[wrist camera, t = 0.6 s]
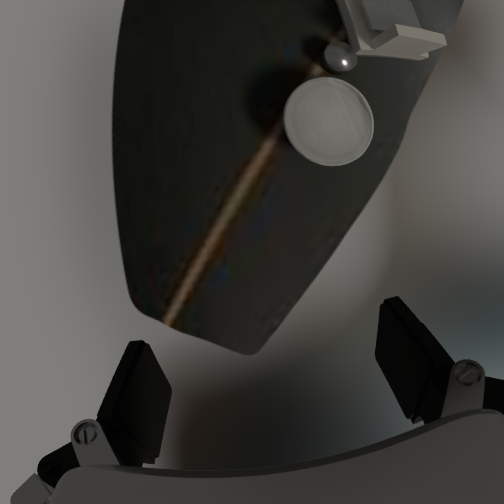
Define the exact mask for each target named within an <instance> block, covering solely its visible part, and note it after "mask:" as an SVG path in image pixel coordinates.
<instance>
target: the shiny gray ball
mask: <svg viewBox="0 0 504 504" xmlns="http://www.w3.org/2000/svg"><path fill="white" fill-rule="evenodd" d="M320 64H321V66H322V67H323V68H324V69H325V70H326V71H327V72H328V73H330V74H333V75H342V74H345V73H346V72H348V71H349V70H351V69H353V68H354V67H355V66H356V64H357V54H356V52H355V51H354V49H353V48H352V47H351V46H350V45H348V44H346V43H344V42H340V41H336V42H332V43H330V44H329V45H328V46H327V47H326V48H325V49H324V50H323V51H322V52H321V54H320Z"/></svg>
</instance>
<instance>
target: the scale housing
mask: <svg viewBox="0 0 504 504" xmlns="http://www.w3.org/2000/svg"><path fill="white" fill-rule="evenodd" d="M335 2H336V4H337V7H338V10H339V13H340V16H341V19H342V22H343V25H344V28H345V32H346V35H347V38H348V42H349V45H350V46H351V47H352V48H353V49H354V51H355V52H356V54H357V56H372V57H386V58H396V59H405V60H413V61H421V60H422V59H425V58H428V57H429V56H428V52H429V51H432V50H435V49H438V48H441V47H444V46H447V43H446V40H445V37H444V35H443V34H439V33H436V32H432V31H428V30H424V29H421V28H417V27H409V26H404V25H399V24H394V25H393V26H391V27H390V28H388V29H387V30H385V31H384V32H375V31H370V29H369V25H368V22H367V20H366V17H365V14H364V11H363V8H362V6H361V3H360V0H335Z"/></svg>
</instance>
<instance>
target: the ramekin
mask: <svg viewBox="0 0 504 504" xmlns="http://www.w3.org/2000/svg"><path fill="white" fill-rule="evenodd" d="M283 124H284V129H285V132H286V135H287V137H288V139H289V141H290V143H291V144H292V146H293V147H294V148H295V149H296V150H297V151H298V152H299V153H300V154H301V155H302V156H304V157H305V158H307V159H308V160H310V161H312V162H314V163H317V164H321V165H326V166H340V165H344V164H347V163H350V162H352V161H354V160H356V159H357V158H359V157H360V156H361V155H362V154H363V153H364V152H365V151H366V149H367V148H368V146H369V144H370V142H371V139H372V136H373V130H374V121H373V115H372V112H371V109H370V106H369V104H368V102H367V101H366V99H365V98H364V96H363V95H362V94H361V93H360V92H359V91H358V90H357V89H356V88H355V87H353V86H352V85H351V84H349V83H347V82H345V81H343V80H340V79H337V78H332V77H318V78H314V79H310V80H308V81H306V82H304V83H302V84H301V85H299V86H298V87H297V88H296V89H295V90H294V91H293V92H292V93H291V95H290V96H289V98H288V99H287V102H286V104H285V107H284V112H283Z"/></svg>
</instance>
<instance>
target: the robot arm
mask: <svg viewBox="0 0 504 504" xmlns="http://www.w3.org/2000/svg"><path fill="white" fill-rule="evenodd" d="M375 357H376V360H377V362H378V364H379V366H380V368H381V370H382V372H383V374H384V375H385V377H386V379H387V381H388V383H389V385H390V387H391V389H392V391H393V393H394V395H395V397H396V398H397V401H398V403H399V405H400V407H401V409H402V411H403V413H404V415H405V417H406V418H407V419H411V421H412V423H413V424H415V423H418V422H420V421H422V420H423V421H424V424H425V425H423V426H420V427H418V428H416V429H413V430H410V431H408V432H405V433H402V434H400V435H397V436H395V437H392V438H389V439H386V440H383V441H380V442H377V443H374V444H371V445H368V446H365V447H361V448H358V449H354V450H350V451H347V452H343V453H339V454H335V455H331V456H327V457H323V458H318V459H313V460H308V461H302V462H297V463H290V464H284V465H277V466H269V467H260V468H250V469H237V470H236V469H235V470H171V469H155V468H144V467H142V465H143V463H148V464H154V463H155V458H157V457H159V453H160V448H161V443H162V438H163V433H164V428H165V423H166V418H167V414H168V409H169V404H170V399H171V395H172V389H171V386H170V384H169V382H168V380H167V378H166V376H165V375H164V373H163V371H162V369H161V367H160V365H159V363H158V361H157V359H156V357H155V355H154V353H153V351H152V349H151V347H150V345H149V344H147V343H145V342H144V341H143V340H138V341H130V342H129V343H128V345H127V347H126V350H125V352H124V354H123V356H122V358H121V360H120V363H119V365H118V367H117V369H116V371H115V374H114V376H113V378H112V380H111V383H110V386H109V387H108V390H107V392H106V394H105V397H104V399H103V402H102V404H101V406H100V409H99V411H98V414H97V416H98V417H97V419H96V421H95V420H93V419H85V420H82V421H80V422H79V423H77V424H76V425H75V426H74V428H73V429H72V431H71V442H70V443H68V444H66V445H64V446H62V447H61V448H59V449H57V450H55V451H54V452H52V453H50V454H48V455H46V456H45V457H43V458H42V459H41V460H40V462H39V464H38V468H37V472H38V474H37V475H36V474H35V473H34V474H33V475H32V476H31V477H30V478H29V479H28V480H27V481H26V482H25V483H24V484H22V486H21V487H20V488H19V489H17V490H16V491H15V492H14V493H13V495H12V497H11V500H10V501H11V504H504V380H500V379H496V378H491V377H486V376H485V371H484V369H483V367H482V366H481V365H480V364H479V363H477V362H476V361H473V360H469V359H467V360H466V359H464V360H460V361H458V362H456V363H455V362H454V361H453V360H452V358H451V357H450V356H449V355H448V353H447V352H446V351H445V350H444V348H443V347H442V346H441V344H440V343H439V342H438V341H437V339H436V338H435V337H434V336H433V335H432V333H431V332H430V331H429V330H428V329H427V327H426V326H425V325H424V324H423V323H421V322H420V321H419V319H418V318H417V317H416V316H415V315H414V314H413V312H412V311H411V310H410V309H409V308H408V307H407V305H406V304H405V303H404V302H403V301H402V300H401V299H400V298H399V297H398V296H395V297H392V298H388V299H385V300H384V302H383V304H381V305H380V311H379V322H378V332H377V340H376V348H375Z"/></svg>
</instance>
